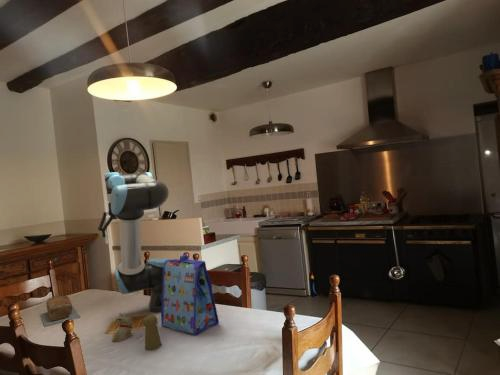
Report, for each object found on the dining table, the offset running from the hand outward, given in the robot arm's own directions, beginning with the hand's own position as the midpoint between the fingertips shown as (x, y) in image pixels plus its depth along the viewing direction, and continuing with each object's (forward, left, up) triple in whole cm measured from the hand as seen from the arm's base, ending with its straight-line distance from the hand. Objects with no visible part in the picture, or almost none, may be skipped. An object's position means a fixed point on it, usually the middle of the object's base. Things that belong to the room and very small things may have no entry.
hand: (120, 241), depth 195 cm
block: (+15, +31, -28) cm, 44 cm away
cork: (-70, +10, -32) cm, 78 cm away
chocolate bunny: (-52, +16, -32) cm, 63 cm away
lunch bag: (-62, -8, -32) cm, 70 cm away
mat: (+4, +32, -32) cm, 45 cm away
